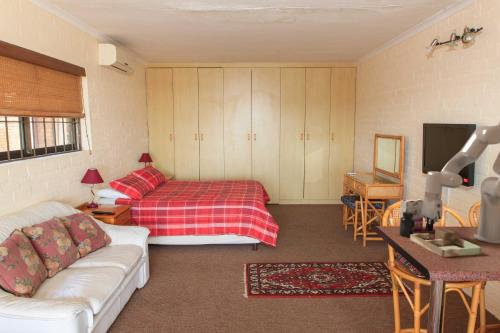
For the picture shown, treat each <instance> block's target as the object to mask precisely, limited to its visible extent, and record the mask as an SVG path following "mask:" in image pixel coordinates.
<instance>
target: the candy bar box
mask: <svg viewBox="0 0 500 333" xmlns="http://www.w3.org/2000/svg"><path fill="white" fill-rule="evenodd" d="M422 203H423V198H422V199H421V198H406V199H405V198H403V199H401V200H400V215H399V216H400V219H401V217H403V212H412V213H413V217H412V218H414V220H415V225H414V231H419V230H421V231H422V230H423V226H424V225H423V224H424V217H423V216H422V213H421V210H422ZM400 219H399V220H400Z"/></svg>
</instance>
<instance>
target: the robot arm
mask: <svg viewBox="0 0 500 333" xmlns="http://www.w3.org/2000/svg"><path fill="white" fill-rule="evenodd" d="M498 144H500V121H499V122H498V123H497V125H492V126H491V125H490V126H489V125H484V126H482V125H481V126H478V127H477V128H476V129H475V130H474V131H473V133H472V134H470V137H469V138H468V139H467V141H466V142H465V144H464V145H463V147H462V148H461V149H460V150H459V151H458V152H457V153H456V154H455V155H454V156H453V157H452V158H450V160H449V161H447V163H446V164H445V165H444V167H443V168H442V170H440V171H436V170H435V171H434V170H433V171H432V170H431V171H428V172H427V173H426V180H425V188H424V189H425V190H424V196H423V198H422V200H423V203H422V210H421V213H422V216H423V219H424V222H425V229H424V230H425V231H426V232H433V231H434V224H436V223H439V222H440V220H442V218H443V200H442V195H443V194H442V193H443V187H444V188H448V189H457V188H459V187H461V186H462V185H463V177H462V176H461V175H459V173H460V172H461V170H462V169H464V167H467V166H469V164H472V163H474V162H476V161H478V160H479V158H480V157H481V155H482V154H483V153H484V152H485V150H487V148H488V146H490V145H498ZM492 171H493V172H494V173H495V174H496V175H498V177H497V176H488V177H486V178H484V179H483V180H482V181H481V184H480V208H479V216H478V228H477V233H474V234H473V238H474V239H476V240H478V241H480V242H483V243H489V244H497V245H498V244H500V151H499V152H498V154H497V157H496V158H495V161H494V162H493V165H492Z"/></svg>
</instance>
